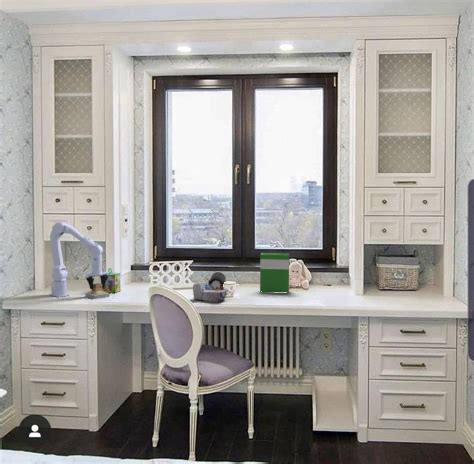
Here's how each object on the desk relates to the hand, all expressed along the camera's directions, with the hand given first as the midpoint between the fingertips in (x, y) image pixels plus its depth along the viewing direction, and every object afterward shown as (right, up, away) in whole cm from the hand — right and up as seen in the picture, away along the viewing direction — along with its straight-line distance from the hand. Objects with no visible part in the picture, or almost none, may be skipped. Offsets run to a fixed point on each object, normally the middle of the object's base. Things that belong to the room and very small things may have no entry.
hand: (97, 288), depth 346 cm
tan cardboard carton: (0, -3, 0) cm, 3 cm away
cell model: (+68, -6, -8) cm, 68 cm away
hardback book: (+107, -4, +21) cm, 109 cm away
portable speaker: (+70, -4, +28) cm, 76 cm away
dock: (0, -5, 0) cm, 5 cm away
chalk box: (+5, -4, +17) cm, 18 cm away
